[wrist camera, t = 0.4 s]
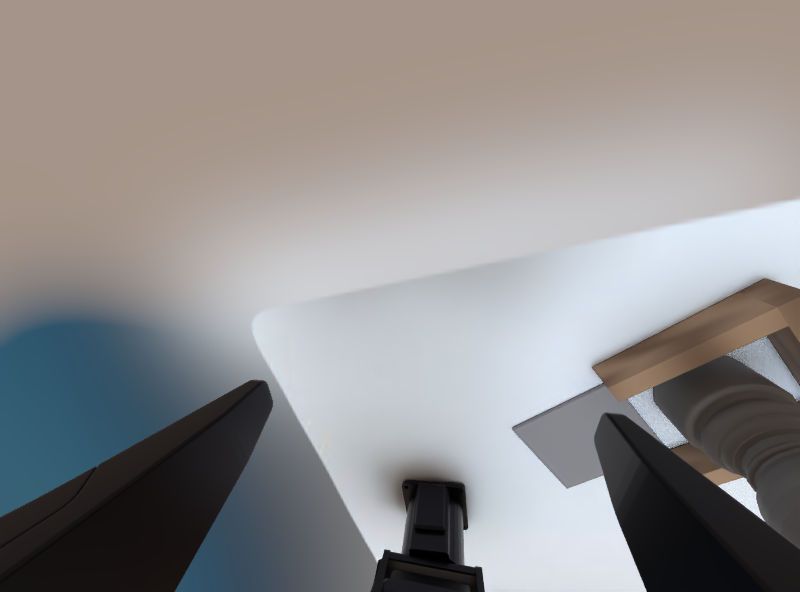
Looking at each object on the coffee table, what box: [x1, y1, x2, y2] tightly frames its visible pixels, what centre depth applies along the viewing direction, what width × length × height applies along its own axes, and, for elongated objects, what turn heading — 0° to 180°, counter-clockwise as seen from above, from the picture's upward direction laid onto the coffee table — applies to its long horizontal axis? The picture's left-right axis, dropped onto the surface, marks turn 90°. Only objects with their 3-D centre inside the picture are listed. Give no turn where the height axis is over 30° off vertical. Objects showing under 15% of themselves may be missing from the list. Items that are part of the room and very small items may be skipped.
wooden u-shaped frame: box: [592, 278, 800, 485], centre depth 21 cm, size 12×12×2 cm
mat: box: [512, 384, 663, 488], centre depth 25 cm, size 9×8×1 cm
